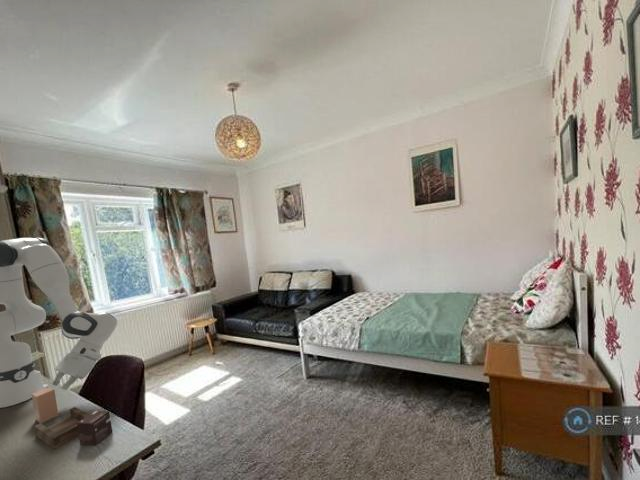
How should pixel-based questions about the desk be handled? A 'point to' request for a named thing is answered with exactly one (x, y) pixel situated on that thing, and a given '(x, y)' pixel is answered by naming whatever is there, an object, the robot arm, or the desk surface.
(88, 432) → the box
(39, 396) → the block
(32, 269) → the robot arm
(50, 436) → the cradle
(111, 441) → the desk surface
